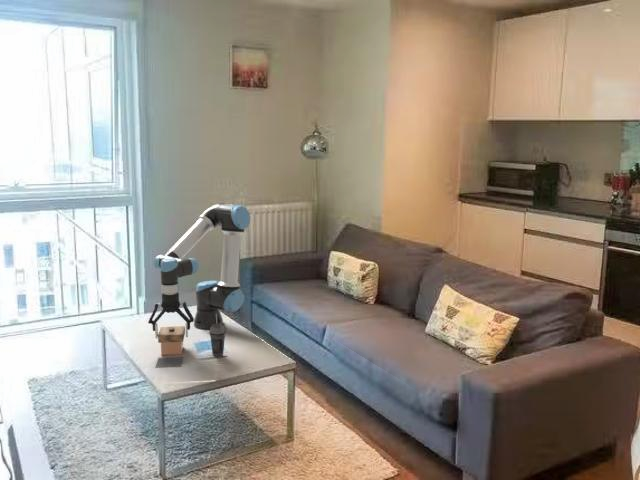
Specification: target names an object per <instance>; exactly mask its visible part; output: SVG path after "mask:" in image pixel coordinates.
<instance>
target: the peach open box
mask: <svg viewBox="0 0 640 480" xmlns="http://www.w3.org/2000/svg"><path fill="white" fill-rule="evenodd" d="M183 350H184V341H183V342H164V343H160V353H161V354H160V356H174V355H175V356H176V355H178V356H179V355H182V354H183Z"/></svg>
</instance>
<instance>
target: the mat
mask: <svg viewBox="0 0 640 480" xmlns="http://www.w3.org/2000/svg"><path fill="white" fill-rule="evenodd" d="M183 360H184V356H173V357H172V356H171V357H169V356H168V357H158V358H157V361H156V363H155V369H158V368H159V369H161V368H181V367H182V365H183Z"/></svg>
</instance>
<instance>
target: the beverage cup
mask: <svg viewBox="0 0 640 480" xmlns="http://www.w3.org/2000/svg"><path fill="white" fill-rule="evenodd" d="M225 336H226V328H225V326H224V324H223V325H222V324H220V323H217V314H216V324H213V325H212V326H211V328H210V329H209V337H210V341H211V342H210V343H211V352H212V357H215V358H217V357H221V358H222V356H224V350H225Z"/></svg>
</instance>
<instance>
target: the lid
mask: <svg viewBox="0 0 640 480" xmlns="http://www.w3.org/2000/svg"><path fill="white" fill-rule="evenodd" d="M185 337H186V325H182V326H161V327H160V329H159V331H158V338H157V343H159V344H161V343H164V342H183V343H184V339H185Z"/></svg>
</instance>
